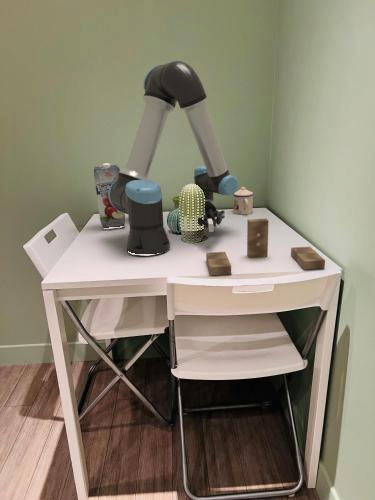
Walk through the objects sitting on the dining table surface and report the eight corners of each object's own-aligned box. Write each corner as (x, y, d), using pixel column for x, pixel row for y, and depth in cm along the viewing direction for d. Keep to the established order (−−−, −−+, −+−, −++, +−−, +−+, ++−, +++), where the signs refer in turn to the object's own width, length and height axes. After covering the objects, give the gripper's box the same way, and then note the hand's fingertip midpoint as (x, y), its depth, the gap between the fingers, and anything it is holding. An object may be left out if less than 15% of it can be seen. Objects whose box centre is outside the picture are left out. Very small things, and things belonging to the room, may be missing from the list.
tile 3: (290, 255, 118) (303, 270, 106) (291, 247, 117) (304, 261, 105) (309, 254, 118) (324, 269, 106) (310, 246, 117) (325, 260, 106)
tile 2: (248, 258, 117) (249, 221, 113) (247, 255, 120) (247, 219, 116) (267, 257, 117) (268, 220, 113) (265, 254, 120) (266, 218, 116)
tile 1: (206, 260, 117) (210, 276, 105) (206, 252, 116) (210, 267, 105) (225, 259, 117) (231, 274, 106) (225, 251, 116) (231, 266, 105)
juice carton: (100, 226, 161) (92, 162, 152) (124, 223, 164) (118, 161, 154) (101, 231, 153) (92, 165, 144) (126, 228, 155) (120, 163, 146)
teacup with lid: (231, 210, 176) (231, 186, 172) (250, 209, 177) (250, 185, 173) (236, 217, 165) (236, 191, 161) (256, 215, 166) (257, 189, 162)
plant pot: (196, 216, 170) (196, 197, 167) (178, 219, 166) (177, 200, 163) (186, 212, 178) (186, 194, 175) (169, 215, 173) (168, 197, 170)
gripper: (223, 218, 146) (231, 236, 124) (190, 221, 146) (192, 240, 124) (222, 199, 143) (230, 215, 121) (188, 202, 143) (190, 218, 121)
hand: (211, 227), depth 122 cm, fingers closed
